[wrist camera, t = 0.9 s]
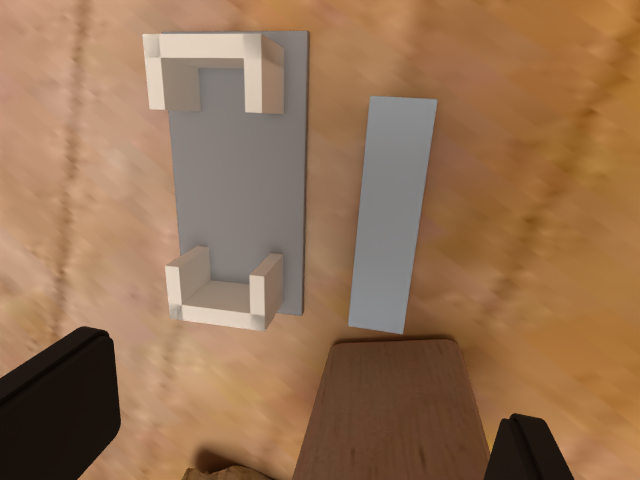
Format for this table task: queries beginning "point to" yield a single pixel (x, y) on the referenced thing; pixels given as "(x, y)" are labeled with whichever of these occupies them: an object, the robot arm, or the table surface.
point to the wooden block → (394, 415)
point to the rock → (225, 474)
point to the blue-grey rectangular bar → (390, 210)
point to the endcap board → (235, 170)
